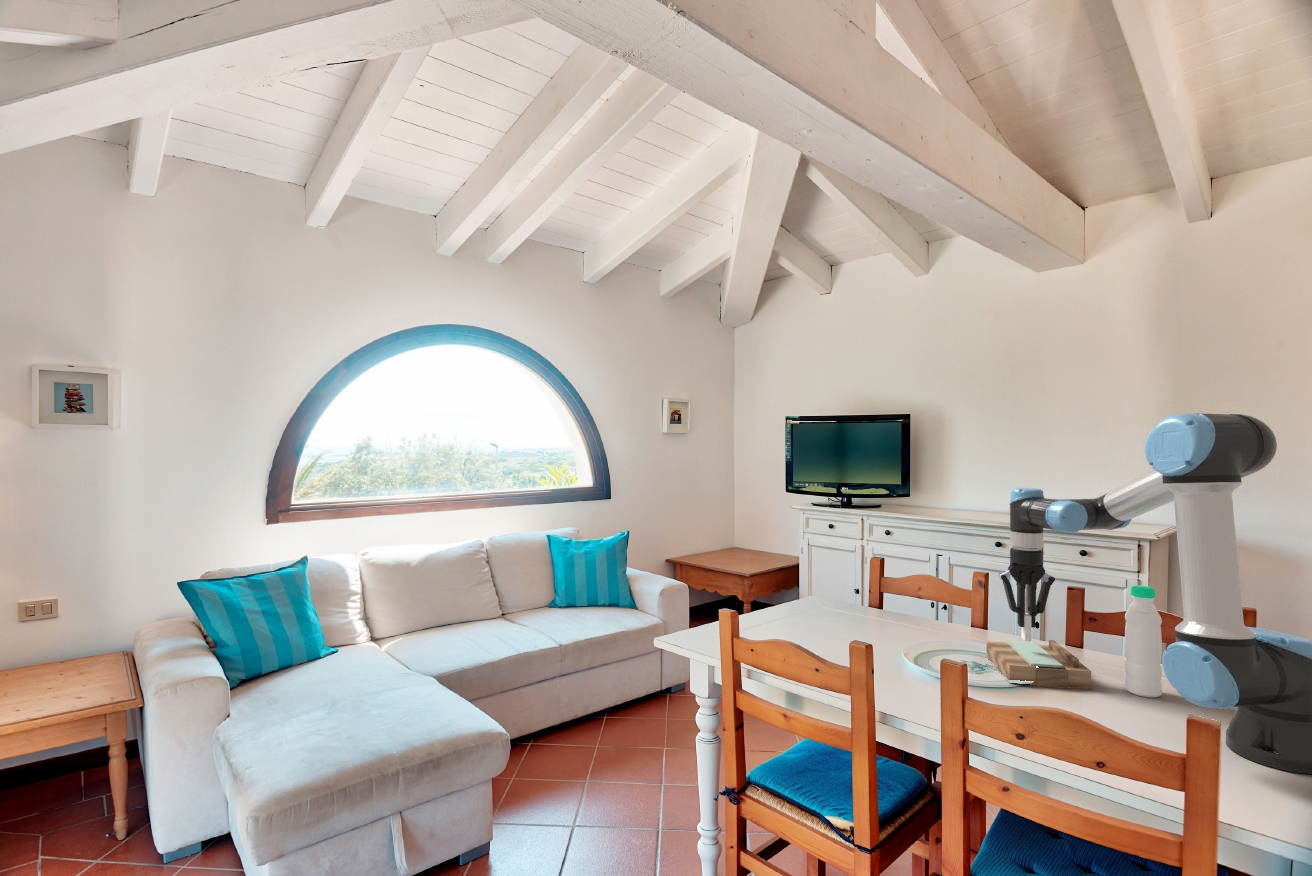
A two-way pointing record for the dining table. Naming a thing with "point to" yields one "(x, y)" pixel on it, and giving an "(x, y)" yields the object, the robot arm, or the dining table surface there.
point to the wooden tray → (1045, 677)
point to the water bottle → (1143, 644)
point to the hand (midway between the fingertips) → (1026, 639)
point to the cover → (1034, 654)
